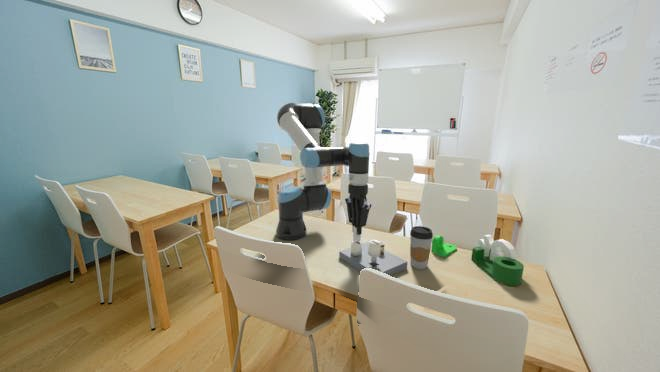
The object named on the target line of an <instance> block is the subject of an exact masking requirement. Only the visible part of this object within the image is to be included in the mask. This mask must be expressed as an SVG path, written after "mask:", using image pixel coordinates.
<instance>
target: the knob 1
mask: <svg viewBox="0 0 660 372" xmlns="http://www.w3.org/2000/svg"><path fill="white" fill-rule="evenodd" d="M362 244H363V242H362V241H359V242H356V243H355V242H353V240H351V242H350V248H351V254H352V255H354V256H359V255H361V254H362Z"/></svg>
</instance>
